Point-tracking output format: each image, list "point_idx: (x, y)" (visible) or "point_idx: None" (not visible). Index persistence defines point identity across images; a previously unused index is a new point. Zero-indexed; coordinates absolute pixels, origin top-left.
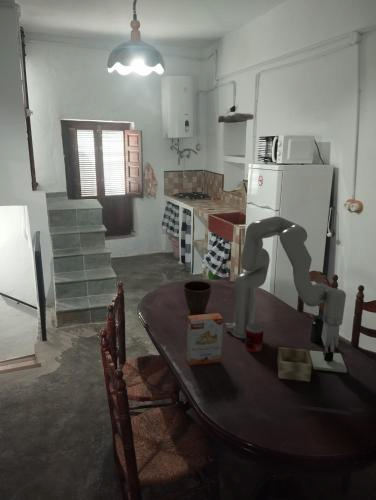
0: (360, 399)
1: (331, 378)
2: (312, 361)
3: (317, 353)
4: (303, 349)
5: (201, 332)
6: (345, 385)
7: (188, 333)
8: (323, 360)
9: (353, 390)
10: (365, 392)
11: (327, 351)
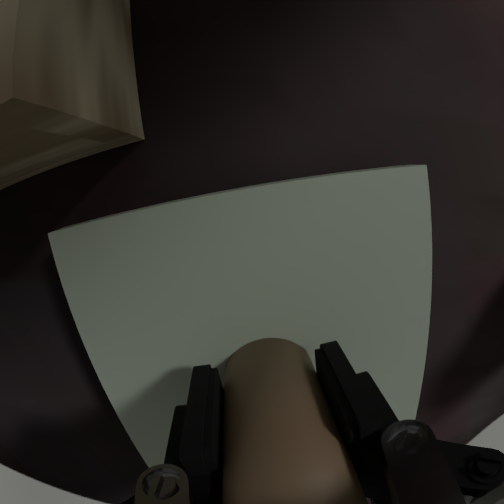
0: (8, 449)
1: (71, 365)
2: (154, 206)
3: (385, 260)
4: (15, 10)
5: None
6: (56, 426)
7: None
8: (234, 338)
9: (44, 447)
10: (69, 481)
11: (140, 495)
